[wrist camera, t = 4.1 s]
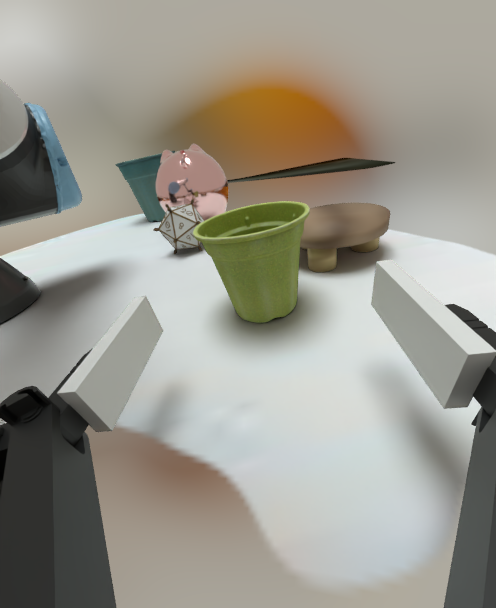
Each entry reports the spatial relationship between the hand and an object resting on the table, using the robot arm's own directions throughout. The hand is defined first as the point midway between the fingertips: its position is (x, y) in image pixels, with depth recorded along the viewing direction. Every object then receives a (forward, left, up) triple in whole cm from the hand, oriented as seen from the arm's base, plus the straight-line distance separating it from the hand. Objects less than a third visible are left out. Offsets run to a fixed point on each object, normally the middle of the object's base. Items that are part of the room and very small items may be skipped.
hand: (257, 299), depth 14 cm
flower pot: (-30, +64, -6) cm, 71 cm away
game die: (-13, +29, -6) cm, 32 cm away
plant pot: (0, +8, -6) cm, 10 cm away
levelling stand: (+9, +18, -6) cm, 21 cm away
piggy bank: (-14, +45, -6) cm, 48 cm away
